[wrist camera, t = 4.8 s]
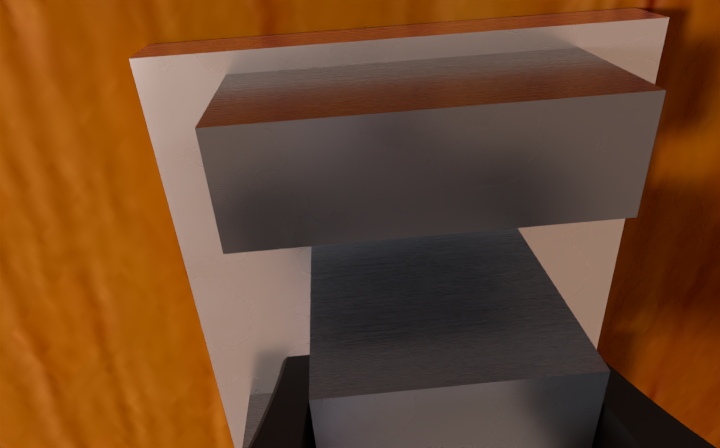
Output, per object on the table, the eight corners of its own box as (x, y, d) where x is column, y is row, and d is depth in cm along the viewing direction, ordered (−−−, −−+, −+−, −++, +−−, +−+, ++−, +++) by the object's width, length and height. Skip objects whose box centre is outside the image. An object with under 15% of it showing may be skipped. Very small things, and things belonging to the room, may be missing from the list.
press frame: (542, 503, 23) (593, 635, 19) (270, 531, 23) (259, 673, 19) (634, 7, 13) (789, 51, 9) (147, 44, 13) (61, 108, 8)
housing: (486, 379, 17) (559, 578, 12) (332, 395, 17) (339, 602, 12) (501, 203, 14) (610, 370, 9) (311, 219, 14) (308, 400, 9)
